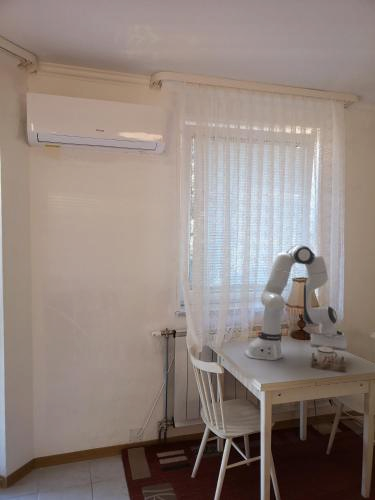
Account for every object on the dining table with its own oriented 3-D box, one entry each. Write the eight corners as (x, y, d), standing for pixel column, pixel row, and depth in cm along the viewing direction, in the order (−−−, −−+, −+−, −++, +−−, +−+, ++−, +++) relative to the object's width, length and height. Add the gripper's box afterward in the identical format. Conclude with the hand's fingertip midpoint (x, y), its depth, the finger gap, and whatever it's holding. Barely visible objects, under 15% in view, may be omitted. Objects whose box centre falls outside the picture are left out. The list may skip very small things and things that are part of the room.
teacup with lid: (322, 368, 201) (323, 347, 200) (313, 362, 209) (314, 342, 209) (341, 367, 203) (342, 346, 203) (331, 361, 212) (332, 341, 212)
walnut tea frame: (311, 367, 201) (311, 362, 201) (312, 357, 218) (312, 352, 218) (345, 372, 195) (345, 366, 195) (343, 361, 212) (343, 356, 212)
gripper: (310, 329, 219) (309, 349, 210) (347, 333, 212) (347, 354, 203) (310, 334, 223) (309, 355, 214) (346, 339, 216) (346, 360, 207)
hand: (328, 355), depth 209 cm, fingers closed
